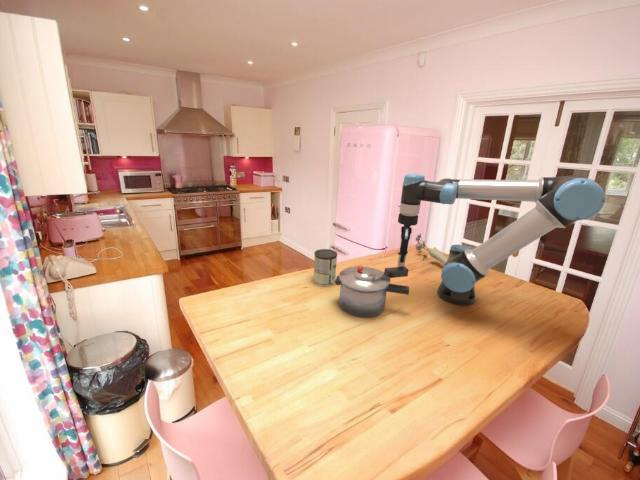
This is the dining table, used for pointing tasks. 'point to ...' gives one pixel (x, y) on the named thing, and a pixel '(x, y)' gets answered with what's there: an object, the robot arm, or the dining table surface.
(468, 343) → the dining table surface
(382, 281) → the lid
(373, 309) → the pot
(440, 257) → the flower vase
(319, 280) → the coffee can
